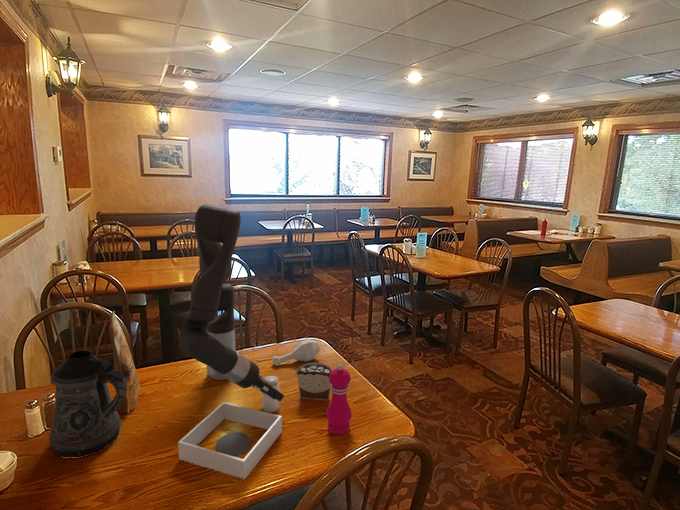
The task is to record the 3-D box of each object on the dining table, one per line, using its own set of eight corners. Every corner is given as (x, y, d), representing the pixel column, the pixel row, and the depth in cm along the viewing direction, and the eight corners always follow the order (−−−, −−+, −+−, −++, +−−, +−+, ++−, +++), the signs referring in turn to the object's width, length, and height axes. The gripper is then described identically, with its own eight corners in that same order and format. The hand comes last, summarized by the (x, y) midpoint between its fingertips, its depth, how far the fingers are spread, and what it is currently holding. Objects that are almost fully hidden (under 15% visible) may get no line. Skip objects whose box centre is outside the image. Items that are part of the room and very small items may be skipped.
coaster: (208, 451, 107) (208, 449, 107) (228, 431, 115) (228, 429, 115) (238, 460, 104) (238, 458, 104) (256, 438, 113) (256, 436, 112)
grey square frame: (179, 459, 104) (178, 442, 103) (224, 416, 122) (223, 401, 121) (244, 479, 98) (244, 461, 97) (281, 431, 116) (281, 416, 115)
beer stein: (58, 428, 115) (46, 345, 110) (135, 413, 123) (127, 335, 117) (43, 467, 100) (28, 374, 95) (131, 447, 108) (122, 360, 103)
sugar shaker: (259, 410, 126) (259, 382, 124) (268, 401, 130) (267, 374, 128) (274, 413, 124) (274, 385, 122) (282, 404, 129) (281, 377, 126)
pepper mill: (354, 423, 120) (356, 360, 116) (346, 438, 113) (348, 372, 109) (331, 418, 122) (332, 356, 118) (322, 432, 116) (323, 367, 111)
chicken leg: (271, 361, 159) (268, 347, 153) (314, 345, 164) (313, 332, 159) (277, 377, 153) (275, 364, 148) (322, 361, 158) (321, 347, 153)
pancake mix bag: (110, 419, 119) (100, 330, 113) (119, 386, 137) (111, 307, 131) (136, 415, 122) (127, 327, 116) (142, 383, 139) (134, 305, 133)
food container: (335, 390, 137) (336, 363, 135) (333, 400, 131) (333, 372, 129) (299, 387, 138) (299, 360, 136) (295, 397, 132) (295, 369, 130)
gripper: (259, 367, 113) (294, 391, 123) (236, 349, 123) (269, 372, 133) (242, 391, 111) (279, 413, 120) (220, 371, 121) (255, 393, 131)
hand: (274, 392), depth 127 cm, fingers open, 8 cm apart
